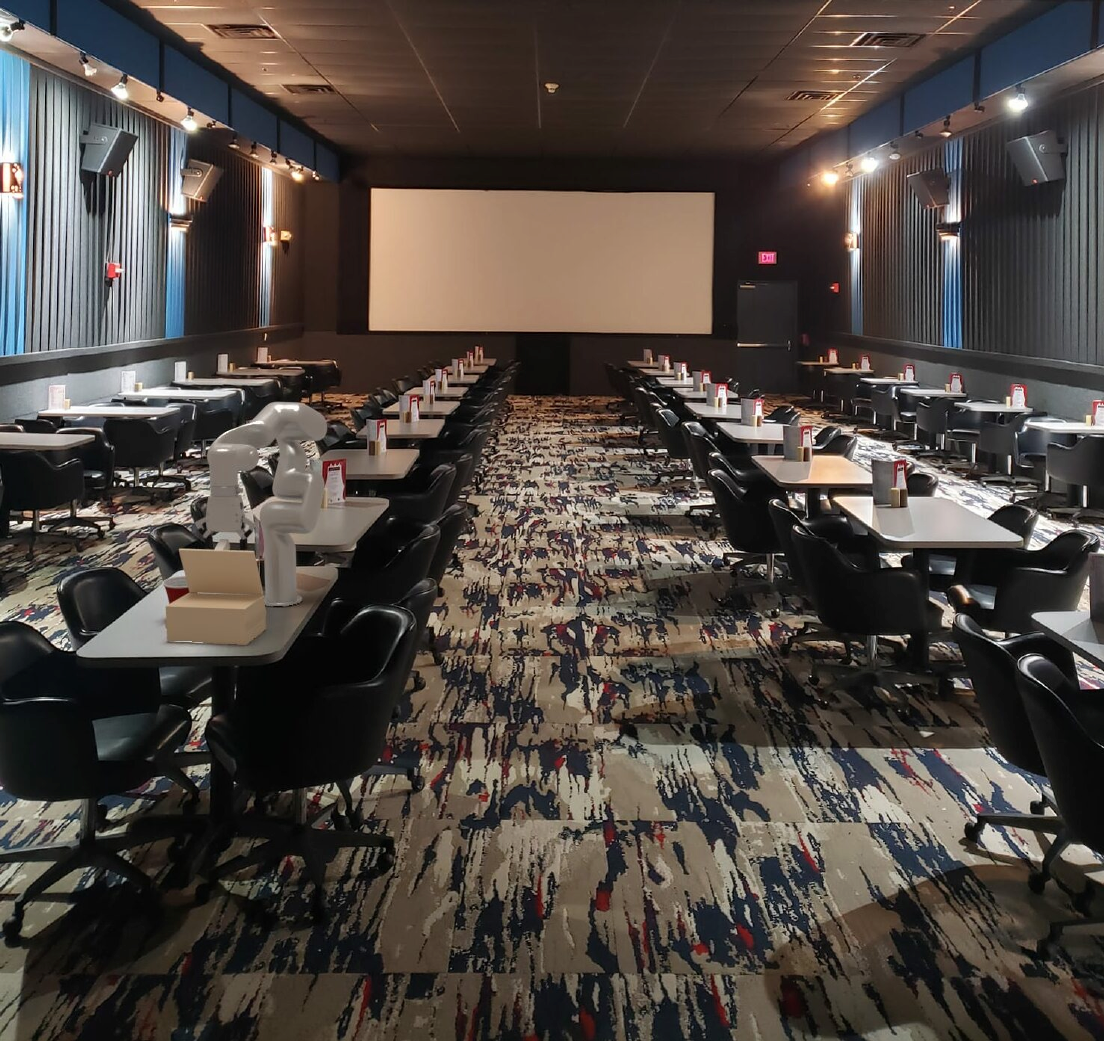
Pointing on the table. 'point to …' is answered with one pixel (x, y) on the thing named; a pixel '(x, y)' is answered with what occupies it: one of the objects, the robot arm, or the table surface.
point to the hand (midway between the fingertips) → (226, 551)
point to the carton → (216, 618)
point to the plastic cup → (176, 588)
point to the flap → (221, 570)
